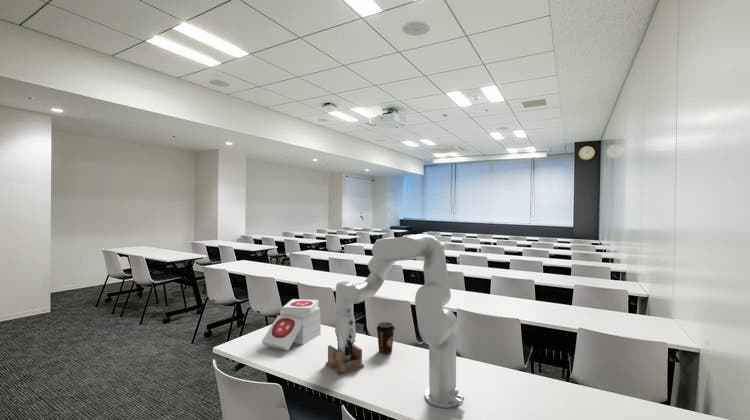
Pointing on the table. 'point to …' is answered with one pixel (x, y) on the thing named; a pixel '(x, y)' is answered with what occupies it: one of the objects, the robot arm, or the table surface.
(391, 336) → the coffee cup
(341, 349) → the roll
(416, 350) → the table surface
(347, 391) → the table surface
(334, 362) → the holder
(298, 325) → the pizza box stack
